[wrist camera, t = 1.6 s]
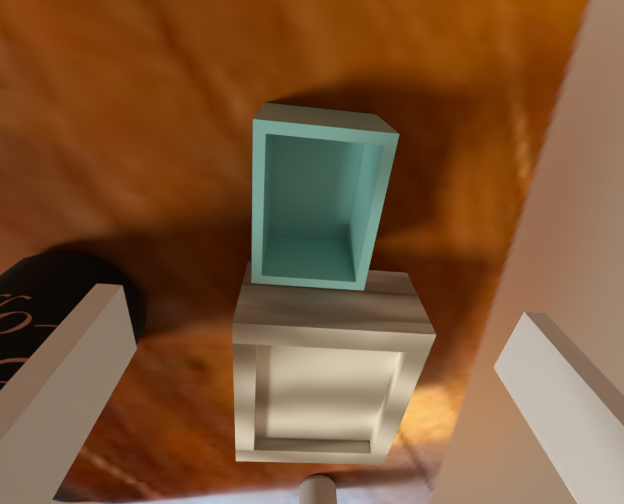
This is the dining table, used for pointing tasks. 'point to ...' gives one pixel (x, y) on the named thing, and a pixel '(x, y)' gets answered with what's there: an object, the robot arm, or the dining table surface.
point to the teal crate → (317, 194)
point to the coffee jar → (51, 301)
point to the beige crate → (325, 368)
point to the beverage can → (318, 490)
